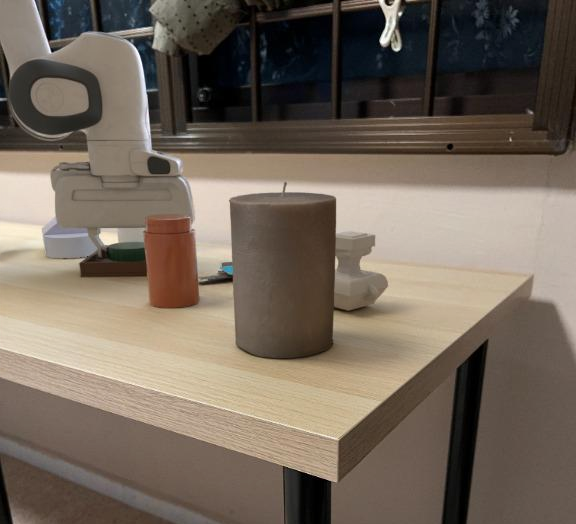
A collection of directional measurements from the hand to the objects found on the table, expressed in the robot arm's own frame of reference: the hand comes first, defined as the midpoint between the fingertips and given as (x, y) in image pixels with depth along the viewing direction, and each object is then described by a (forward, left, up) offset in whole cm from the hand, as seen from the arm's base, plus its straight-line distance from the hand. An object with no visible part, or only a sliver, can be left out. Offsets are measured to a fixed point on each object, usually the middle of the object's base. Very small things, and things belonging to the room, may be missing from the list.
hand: (130, 257), depth 93 cm
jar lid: (0, 0, +1) cm, 2 cm away
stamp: (+30, -25, -2) cm, 39 cm away
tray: (0, 0, -1) cm, 1 cm away
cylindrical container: (-2, +17, -2) cm, 17 cm away
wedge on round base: (-13, +14, -2) cm, 19 cm away
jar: (+9, -22, -1) cm, 24 cm away
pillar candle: (+22, -38, -2) cm, 44 cm away
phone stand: (+21, -9, -2) cm, 23 cm away
